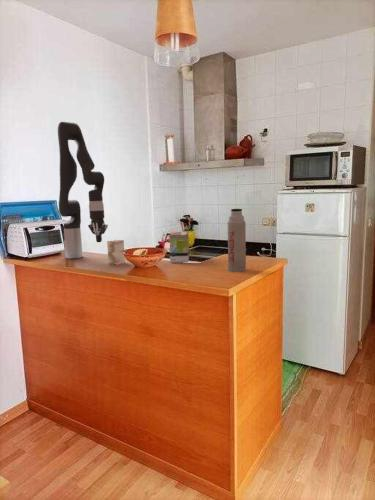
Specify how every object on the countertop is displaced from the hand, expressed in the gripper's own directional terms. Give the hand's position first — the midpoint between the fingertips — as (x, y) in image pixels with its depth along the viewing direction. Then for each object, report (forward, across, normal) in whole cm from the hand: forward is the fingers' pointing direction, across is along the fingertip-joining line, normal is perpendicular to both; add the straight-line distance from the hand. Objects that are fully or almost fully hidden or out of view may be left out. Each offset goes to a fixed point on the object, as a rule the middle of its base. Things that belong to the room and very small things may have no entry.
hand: (99, 242), depth 200 cm
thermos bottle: (+12, +76, +11) cm, 77 cm away
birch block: (+11, +12, 0) cm, 16 cm away
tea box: (+12, +38, +21) cm, 45 cm away
